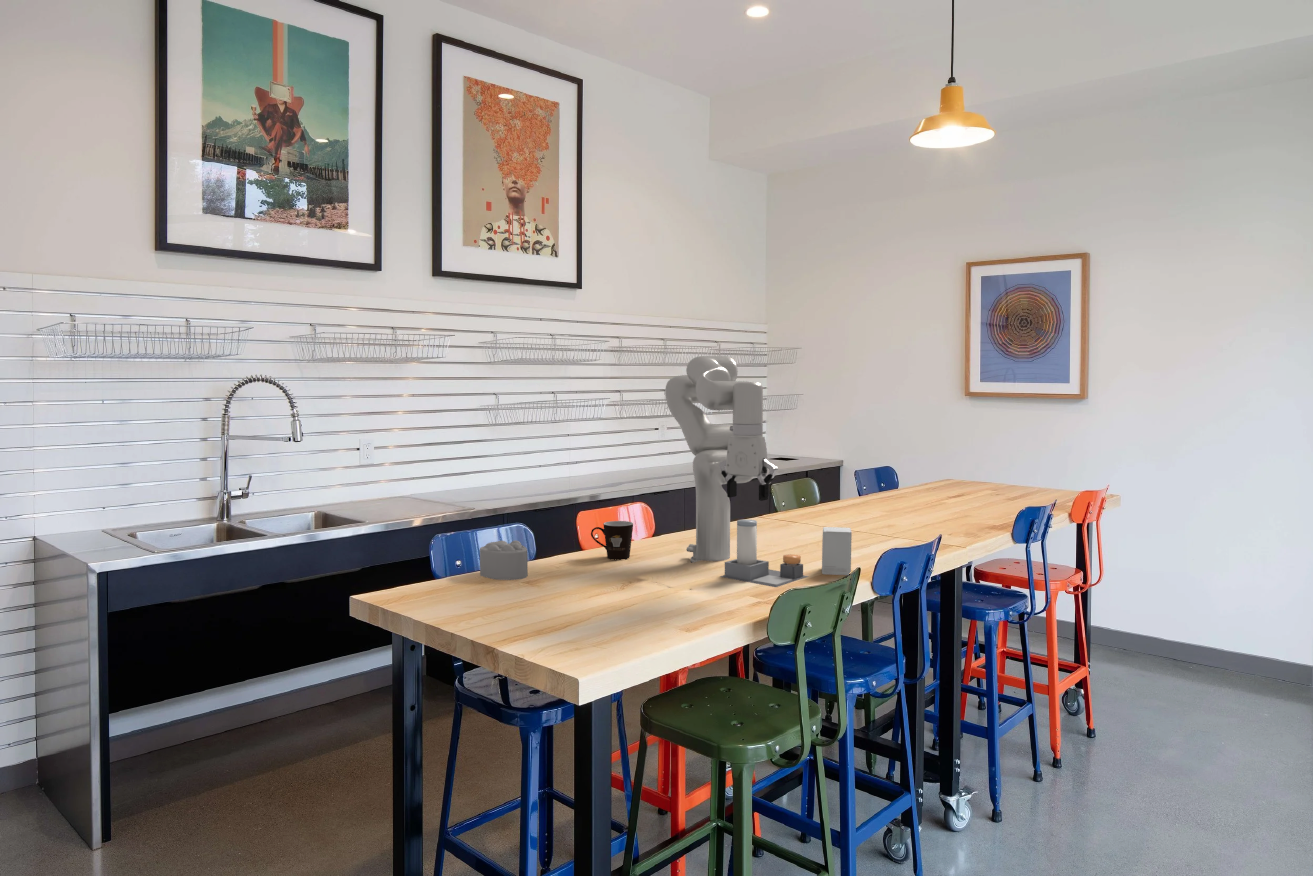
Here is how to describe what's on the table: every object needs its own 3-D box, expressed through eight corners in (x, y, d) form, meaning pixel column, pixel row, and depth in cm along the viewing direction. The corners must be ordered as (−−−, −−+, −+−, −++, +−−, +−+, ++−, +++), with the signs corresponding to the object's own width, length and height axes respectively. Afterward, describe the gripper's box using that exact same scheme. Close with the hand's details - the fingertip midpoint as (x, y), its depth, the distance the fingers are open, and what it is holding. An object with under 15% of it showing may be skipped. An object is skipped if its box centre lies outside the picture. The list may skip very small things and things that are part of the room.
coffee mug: (639, 556, 249) (639, 522, 249) (622, 562, 242) (622, 527, 241) (606, 552, 255) (606, 519, 255) (589, 557, 248) (588, 523, 248)
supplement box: (851, 581, 219) (851, 532, 218) (821, 579, 221) (822, 531, 220) (850, 574, 226) (851, 527, 226) (821, 573, 228) (822, 526, 227)
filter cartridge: (732, 575, 219) (733, 521, 218) (744, 572, 223) (744, 518, 222) (749, 578, 216) (749, 523, 215) (760, 575, 219) (760, 520, 218)
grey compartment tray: (719, 582, 218) (719, 562, 218) (753, 572, 229) (753, 553, 229) (775, 593, 207) (776, 572, 207) (808, 582, 218) (808, 562, 218)
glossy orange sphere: (779, 573, 218) (779, 556, 218) (789, 570, 222) (789, 553, 221) (794, 576, 215) (794, 558, 215) (803, 573, 219) (803, 556, 218)
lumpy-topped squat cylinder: (505, 568, 235) (505, 536, 234) (537, 575, 226) (537, 542, 226) (474, 575, 227) (474, 542, 226) (506, 582, 218) (506, 548, 218)
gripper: (711, 430, 219) (711, 497, 220) (768, 432, 208) (767, 503, 209) (728, 429, 225) (728, 494, 226) (785, 431, 214) (784, 499, 215)
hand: (747, 498), depth 217 cm, fingers open, 9 cm apart
